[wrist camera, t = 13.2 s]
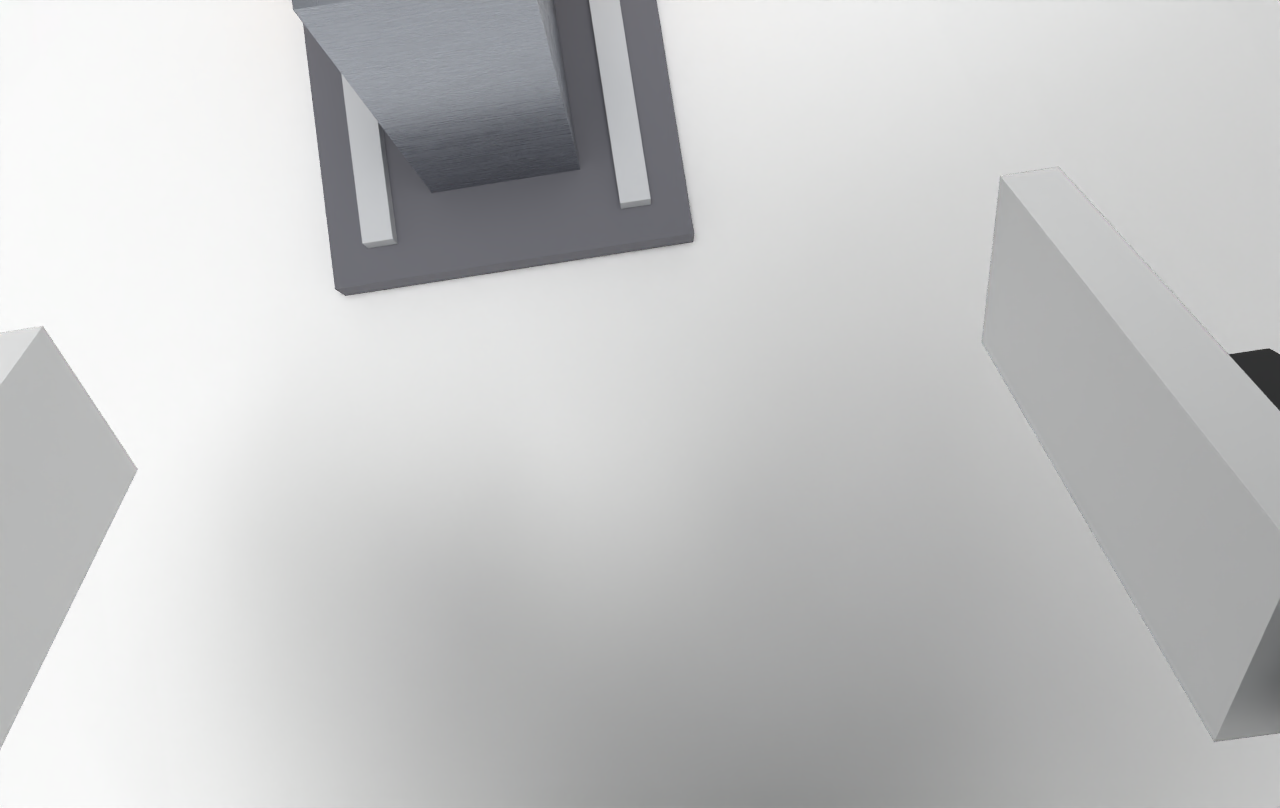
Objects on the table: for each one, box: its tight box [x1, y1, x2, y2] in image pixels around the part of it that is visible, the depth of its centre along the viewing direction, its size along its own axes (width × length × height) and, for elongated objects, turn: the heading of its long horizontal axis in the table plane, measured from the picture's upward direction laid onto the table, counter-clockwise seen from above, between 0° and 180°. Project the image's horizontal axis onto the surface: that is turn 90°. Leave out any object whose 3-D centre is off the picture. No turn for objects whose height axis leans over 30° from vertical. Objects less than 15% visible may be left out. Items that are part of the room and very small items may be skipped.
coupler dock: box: [303, 0, 694, 296], centre depth 31 cm, size 12×12×4 cm
